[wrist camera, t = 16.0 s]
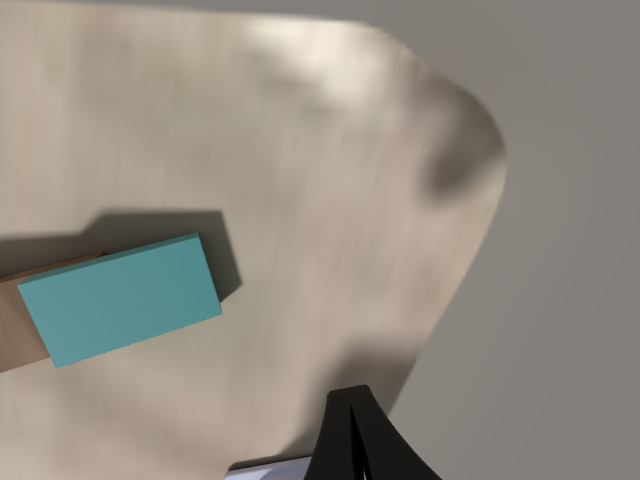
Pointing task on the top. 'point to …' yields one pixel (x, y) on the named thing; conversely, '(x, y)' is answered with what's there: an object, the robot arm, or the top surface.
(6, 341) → the domino
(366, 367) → the top surface
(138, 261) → the teal rectangular block
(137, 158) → the top surface
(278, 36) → the top surface
